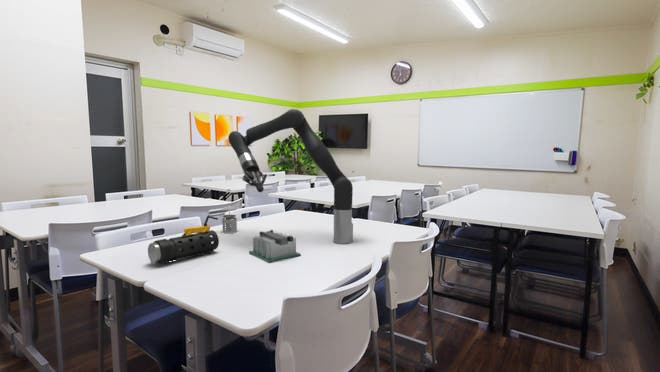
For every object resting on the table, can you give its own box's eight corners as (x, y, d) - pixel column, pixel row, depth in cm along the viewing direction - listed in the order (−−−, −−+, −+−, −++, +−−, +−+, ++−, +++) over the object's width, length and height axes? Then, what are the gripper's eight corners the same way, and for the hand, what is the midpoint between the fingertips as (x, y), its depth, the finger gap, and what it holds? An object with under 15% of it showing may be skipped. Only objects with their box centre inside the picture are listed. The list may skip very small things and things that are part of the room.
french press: (229, 235, 195) (227, 190, 192) (215, 232, 201) (213, 189, 198) (242, 232, 203) (241, 188, 200) (228, 229, 209) (227, 187, 207)
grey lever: (269, 237, 166) (269, 230, 166) (288, 244, 154) (288, 237, 154) (262, 238, 164) (262, 232, 163) (280, 245, 152) (280, 238, 151)
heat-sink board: (279, 247, 172) (279, 227, 171) (301, 256, 158) (301, 235, 157) (249, 253, 162) (248, 232, 161) (269, 263, 148) (269, 240, 147)
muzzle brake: (219, 253, 162) (219, 231, 161) (158, 269, 140) (157, 243, 139) (207, 249, 168) (207, 228, 166) (147, 264, 146) (146, 239, 145)
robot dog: (220, 241, 183) (220, 215, 182) (184, 246, 172) (183, 219, 171) (217, 238, 188) (216, 213, 186) (181, 243, 177) (180, 217, 176)
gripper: (238, 158, 167) (251, 186, 159) (263, 158, 176) (276, 185, 167) (233, 169, 172) (245, 197, 164) (258, 168, 180) (270, 195, 172)
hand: (261, 191), depth 166 cm, fingers closed
